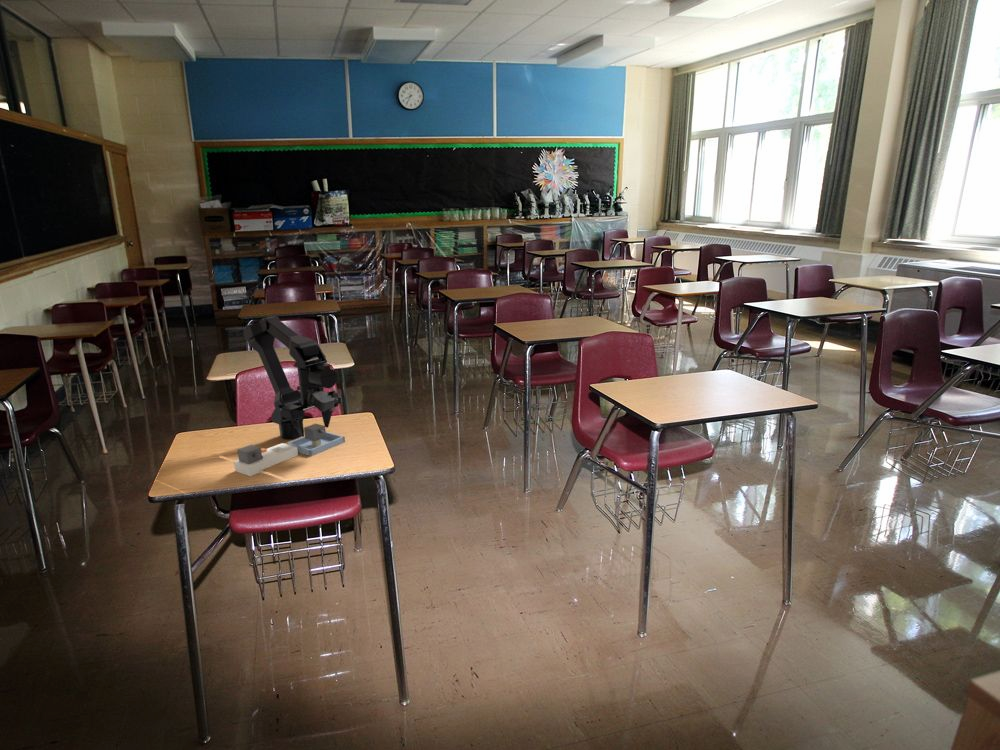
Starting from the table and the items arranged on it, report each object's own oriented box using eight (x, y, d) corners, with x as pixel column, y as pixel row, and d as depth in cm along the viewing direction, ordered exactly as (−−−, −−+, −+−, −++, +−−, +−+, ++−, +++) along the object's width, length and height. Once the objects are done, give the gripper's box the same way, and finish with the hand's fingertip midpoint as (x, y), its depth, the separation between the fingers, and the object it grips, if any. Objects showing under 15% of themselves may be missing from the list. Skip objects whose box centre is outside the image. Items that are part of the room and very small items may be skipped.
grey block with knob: (306, 446, 190) (303, 427, 189) (317, 441, 194) (315, 423, 192) (319, 450, 187) (317, 431, 185) (331, 445, 190) (329, 427, 188)
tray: (287, 450, 189) (286, 443, 188) (321, 437, 199) (321, 430, 198) (311, 457, 183) (310, 450, 182) (345, 443, 193) (344, 436, 192)
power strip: (235, 471, 175) (232, 449, 173) (283, 452, 188) (280, 432, 186) (255, 478, 170) (251, 456, 168) (303, 458, 182) (300, 437, 181)
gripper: (300, 394, 174) (306, 447, 178) (351, 378, 188) (356, 427, 192) (276, 389, 180) (282, 439, 184) (327, 374, 194) (332, 421, 199)
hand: (314, 431), depth 190 cm, fingers open, 9 cm apart
